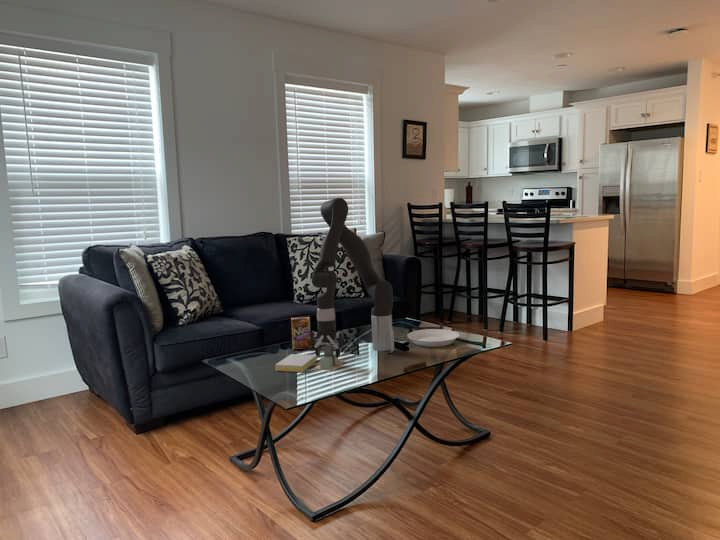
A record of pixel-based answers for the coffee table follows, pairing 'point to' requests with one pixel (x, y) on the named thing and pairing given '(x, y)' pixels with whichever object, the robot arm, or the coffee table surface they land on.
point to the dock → (296, 363)
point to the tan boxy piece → (329, 352)
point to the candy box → (301, 332)
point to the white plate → (433, 337)
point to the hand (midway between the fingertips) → (327, 356)
